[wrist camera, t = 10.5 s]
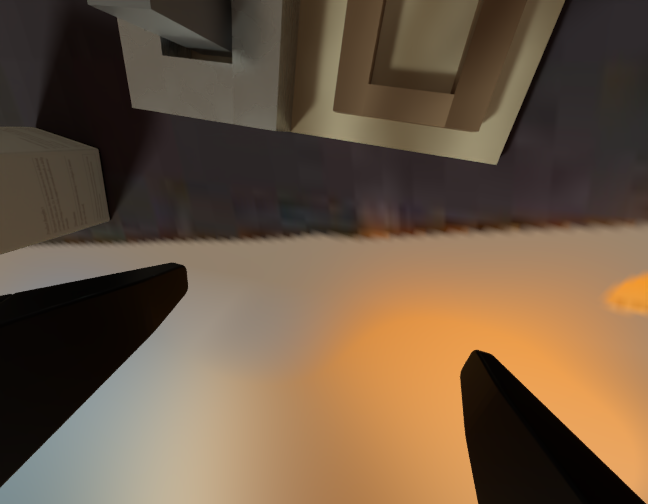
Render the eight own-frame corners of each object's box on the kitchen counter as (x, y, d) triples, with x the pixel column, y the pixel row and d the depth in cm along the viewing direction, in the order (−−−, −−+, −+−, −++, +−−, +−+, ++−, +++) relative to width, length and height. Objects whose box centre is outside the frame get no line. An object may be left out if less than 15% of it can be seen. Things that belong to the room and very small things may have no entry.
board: (611, -133, 11) (630, -157, 10) (490, 163, 16) (496, 164, 15) (132, -128, 14) (115, -146, 14) (162, 110, 20) (151, 109, 19)
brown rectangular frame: (553, -100, 11) (576, -133, 9) (470, 132, 15) (478, 131, 13) (367, -101, 12) (364, -131, 11) (337, 112, 16) (332, 110, 15)
